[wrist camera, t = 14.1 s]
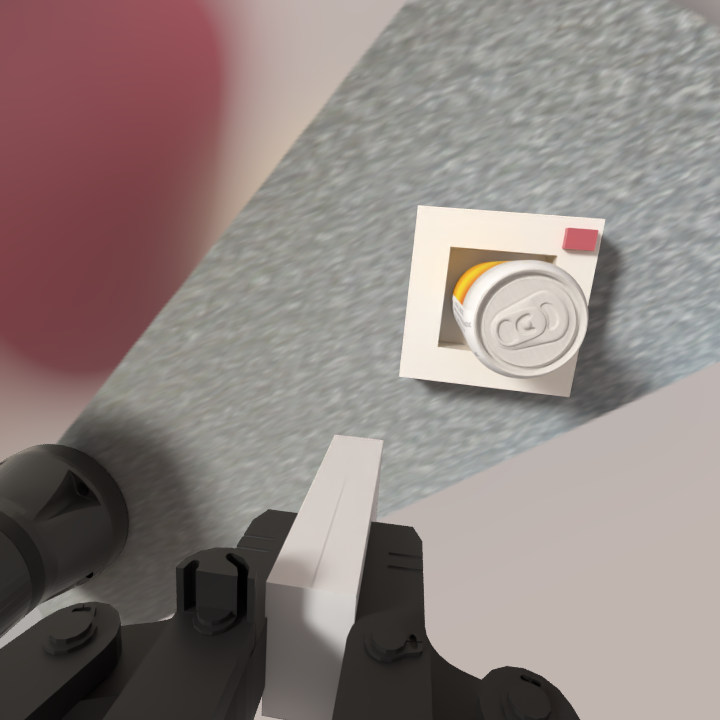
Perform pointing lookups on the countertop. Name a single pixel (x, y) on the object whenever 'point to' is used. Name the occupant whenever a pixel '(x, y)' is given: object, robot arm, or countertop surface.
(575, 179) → the countertop surface
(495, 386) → the socket block
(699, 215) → the countertop surface
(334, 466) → the robot arm
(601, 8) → the countertop surface
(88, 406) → the countertop surface
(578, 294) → the beer can
